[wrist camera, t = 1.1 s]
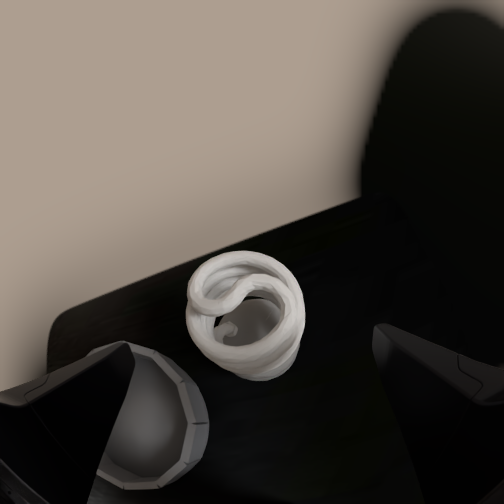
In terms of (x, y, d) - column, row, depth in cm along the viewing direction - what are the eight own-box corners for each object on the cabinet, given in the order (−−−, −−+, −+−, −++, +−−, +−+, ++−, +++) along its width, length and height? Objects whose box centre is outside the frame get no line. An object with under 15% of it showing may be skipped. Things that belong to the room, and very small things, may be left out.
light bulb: (225, 385, 20) (156, 350, 10) (233, 319, 23) (183, 233, 13) (298, 389, 19) (306, 363, 9) (301, 321, 22) (306, 231, 12)
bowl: (194, 501, 14) (177, 512, 11) (80, 447, 17) (56, 446, 14) (222, 371, 20) (210, 363, 17) (107, 339, 23) (85, 327, 20)
